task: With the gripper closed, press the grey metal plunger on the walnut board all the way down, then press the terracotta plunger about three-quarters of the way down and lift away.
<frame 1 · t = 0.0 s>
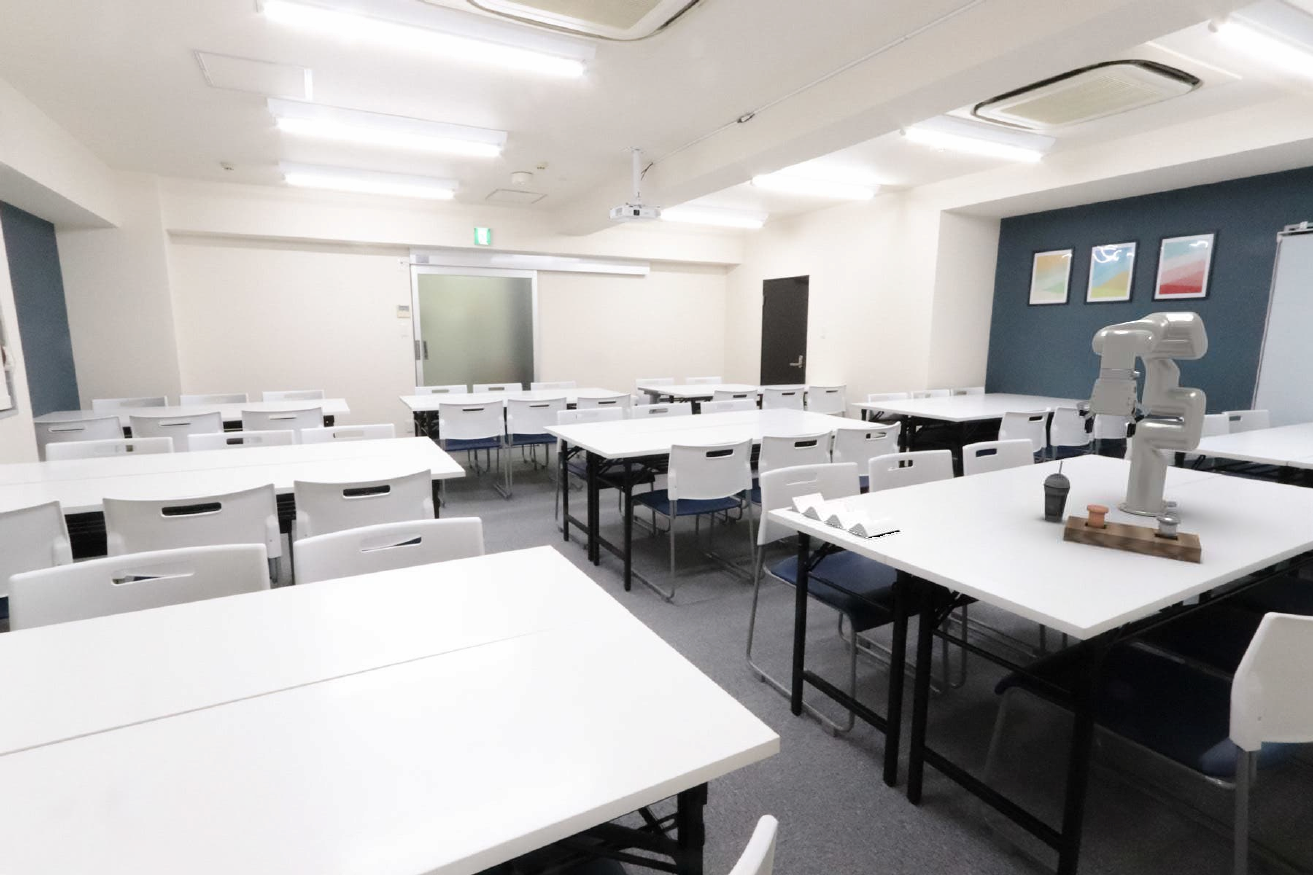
hand: (1108, 435, 172), 31 cm above the table, tool pointing down, fingers open, 9 cm apart
button board: (1128, 544, 173), on the table
terracotta plunger: (1096, 518, 177), point 6 cm above the table, slide at 0.0 cm
grey plunger: (1167, 528, 167), point 6 cm above the table, slide at 0.0 cm
beverage cup: (1053, 521, 195), on the table
file organizer: (843, 523, 196), on the table
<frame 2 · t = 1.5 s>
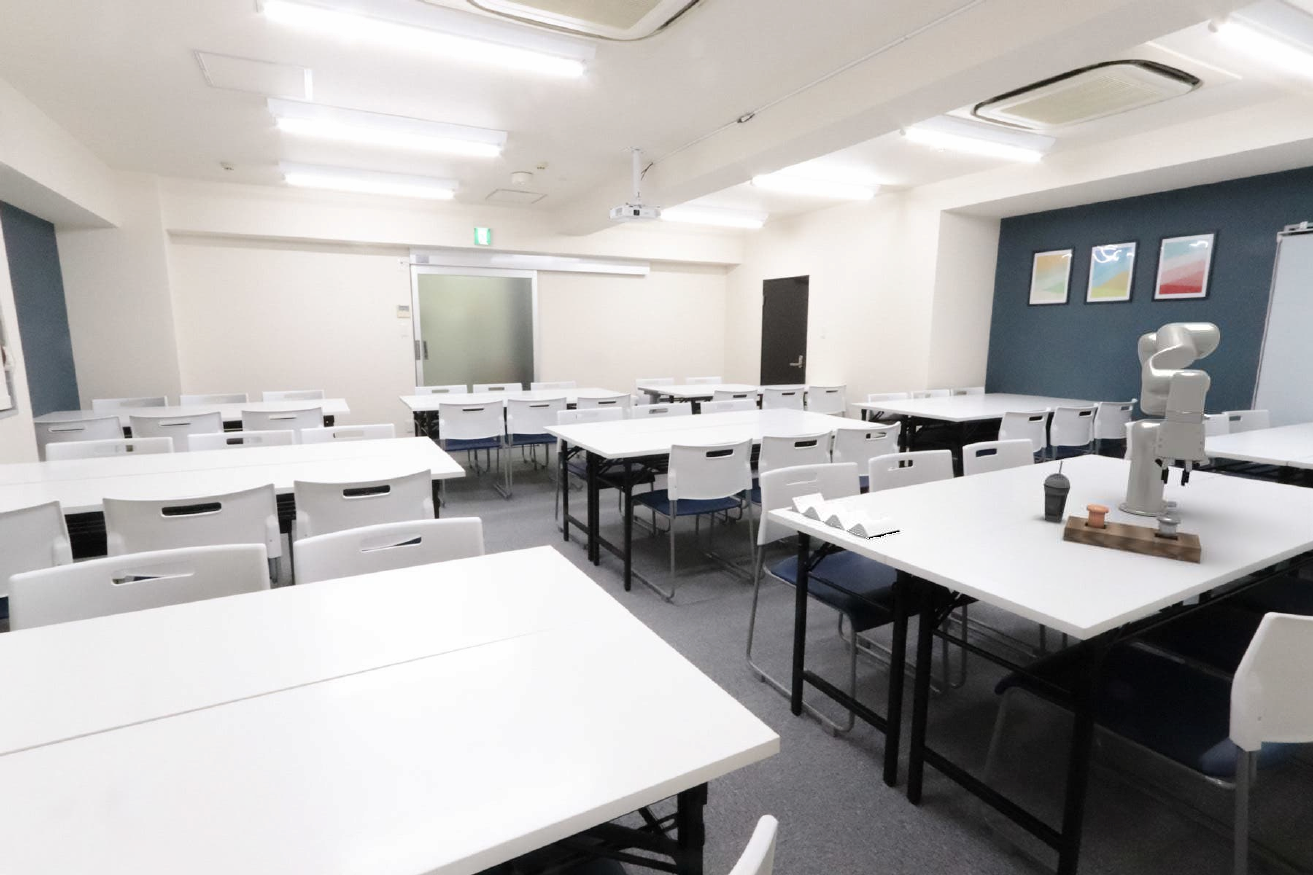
hand: (1173, 483, 165), 19 cm above the table, tool pointing down, fingers open, 3 cm apart
nothing on the table moved.
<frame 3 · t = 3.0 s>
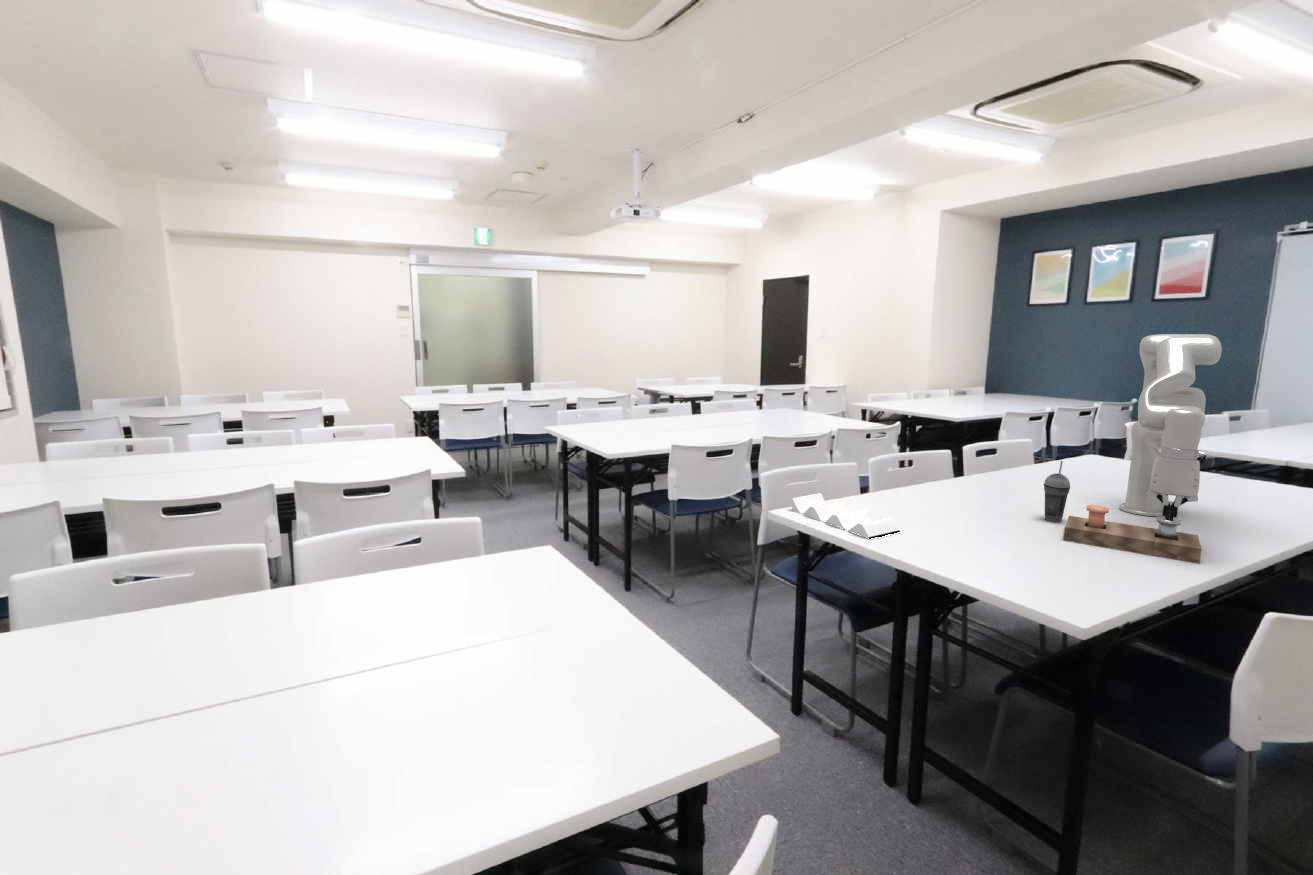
hand: (1168, 519, 166), 9 cm above the table, tool pointing down, fingers closed
grey plunger: (1167, 530, 167), point 6 cm above the table, slide at 0.4 cm, touching gripper
everything else where it was.
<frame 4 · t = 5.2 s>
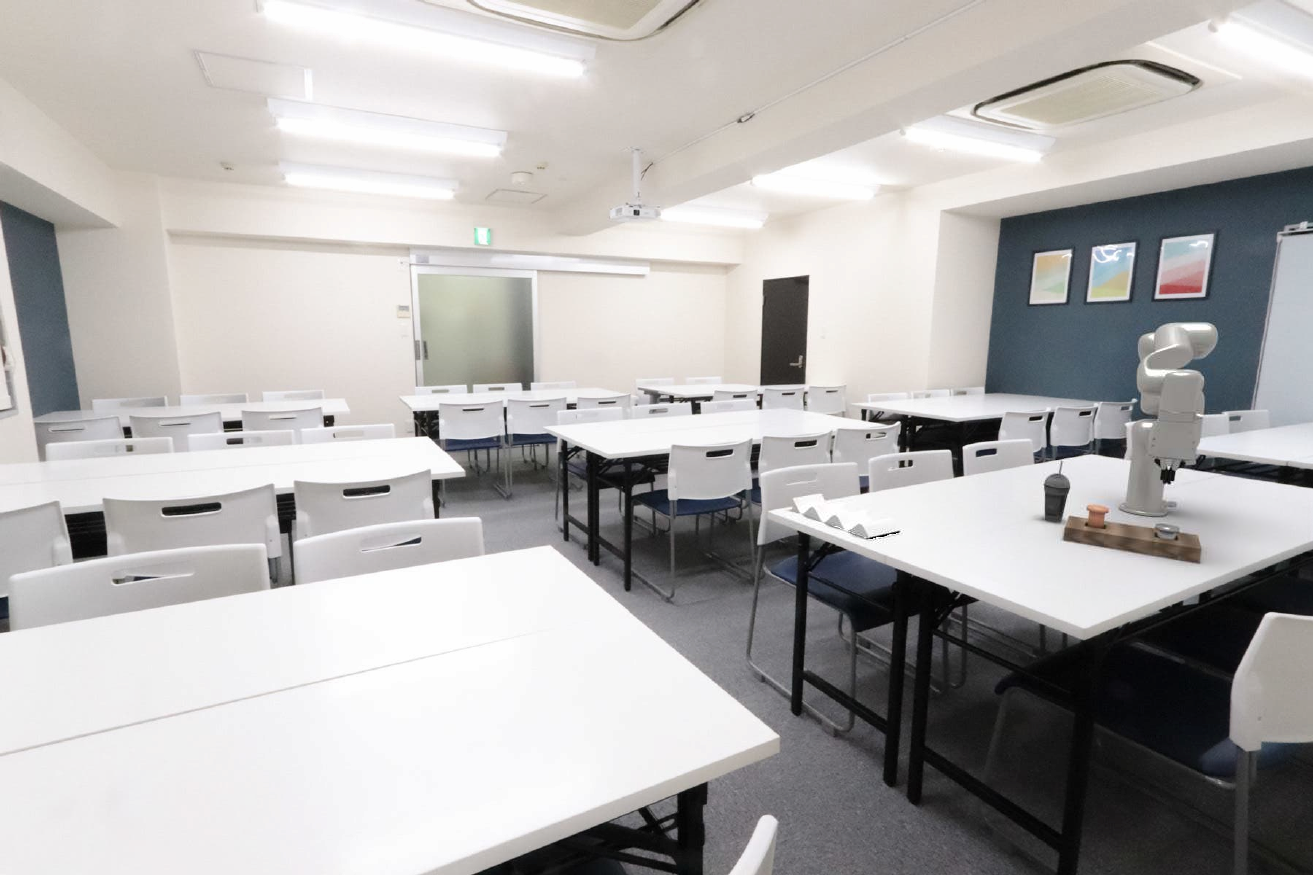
hand: (1166, 483, 166), 19 cm above the table, tool pointing down, fingers closed
grey plunger: (1165, 537, 167), point 4 cm above the table, slide at 2.6 cm
everything else where it was.
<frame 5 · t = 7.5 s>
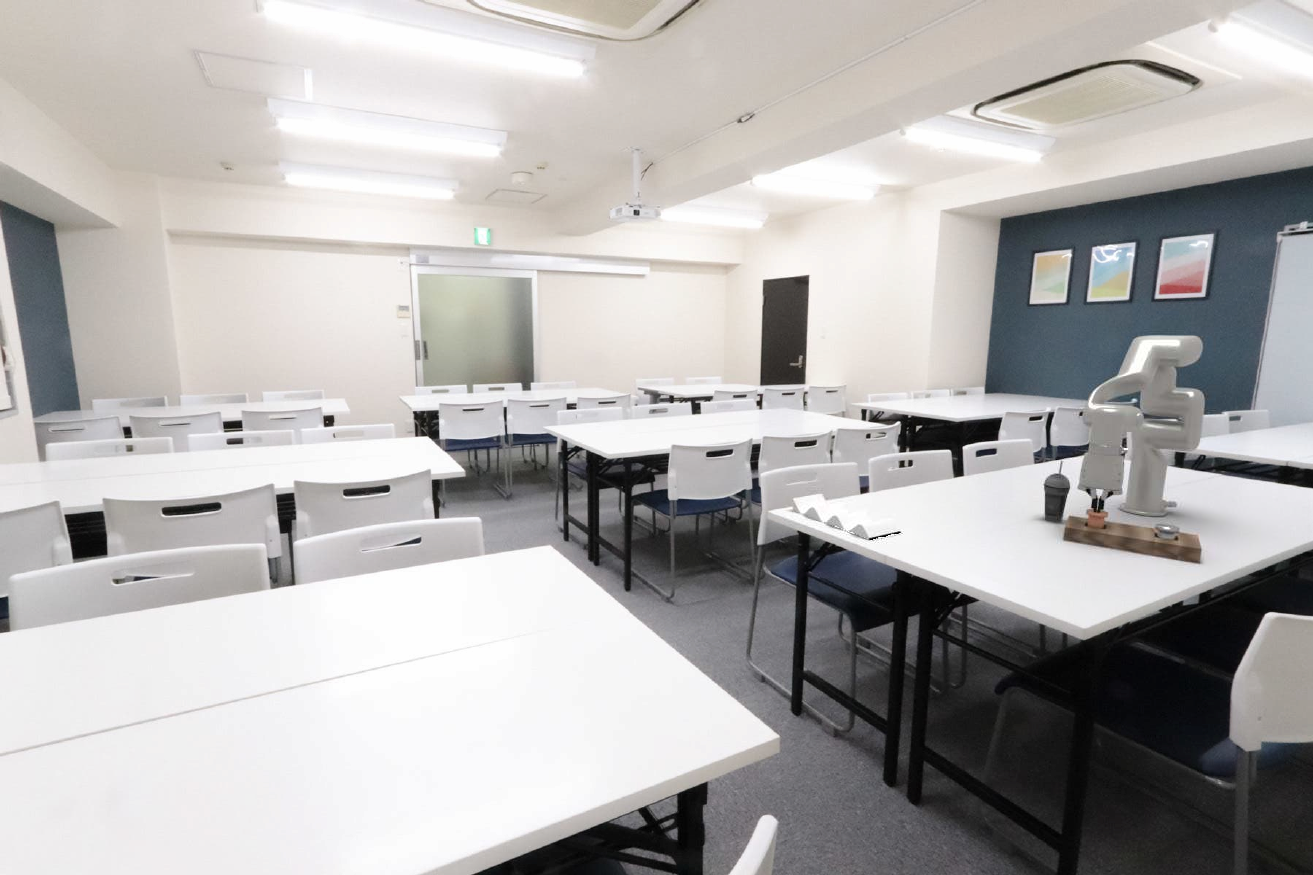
hand: (1096, 511, 176), 8 cm above the table, tool pointing down, fingers closed
terracotta plunger: (1095, 522, 177), point 5 cm above the table, slide at 1.2 cm, touching gripper
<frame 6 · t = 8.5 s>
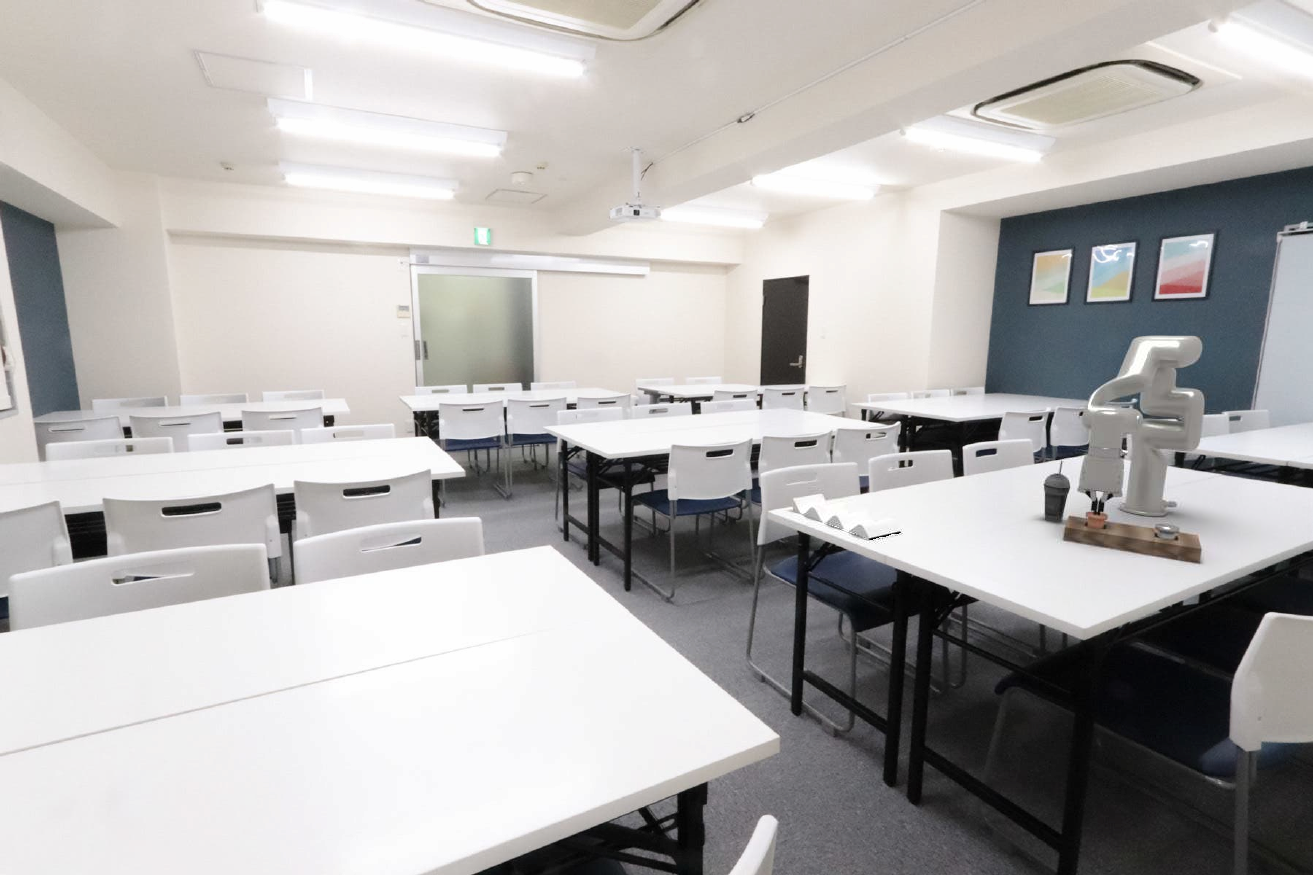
hand: (1096, 513, 177), 8 cm above the table, tool pointing down, fingers closed
terracotta plunger: (1095, 524, 177), point 4 cm above the table, slide at 2.0 cm
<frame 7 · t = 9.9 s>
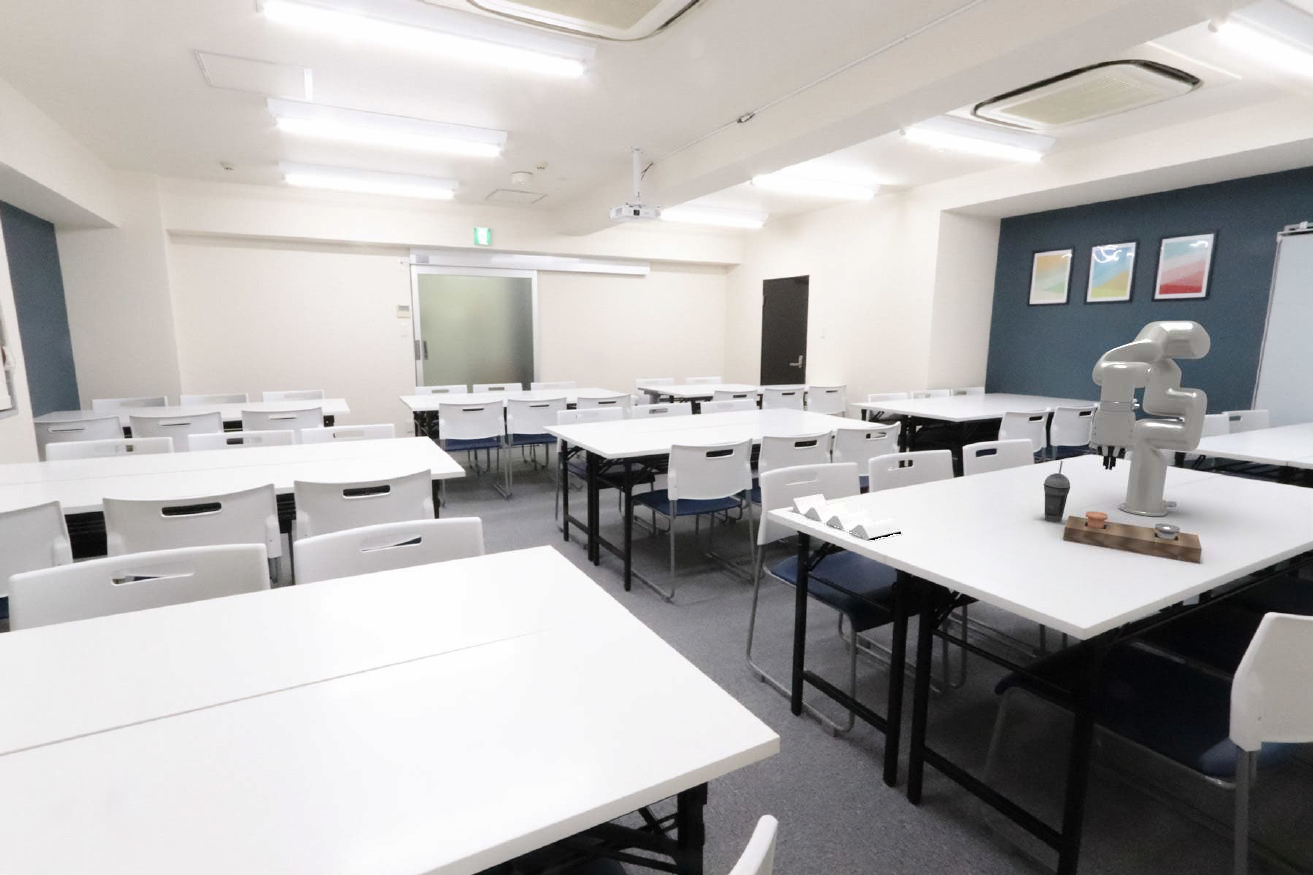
hand: (1108, 468, 177), 21 cm above the table, tool pointing down, fingers closed
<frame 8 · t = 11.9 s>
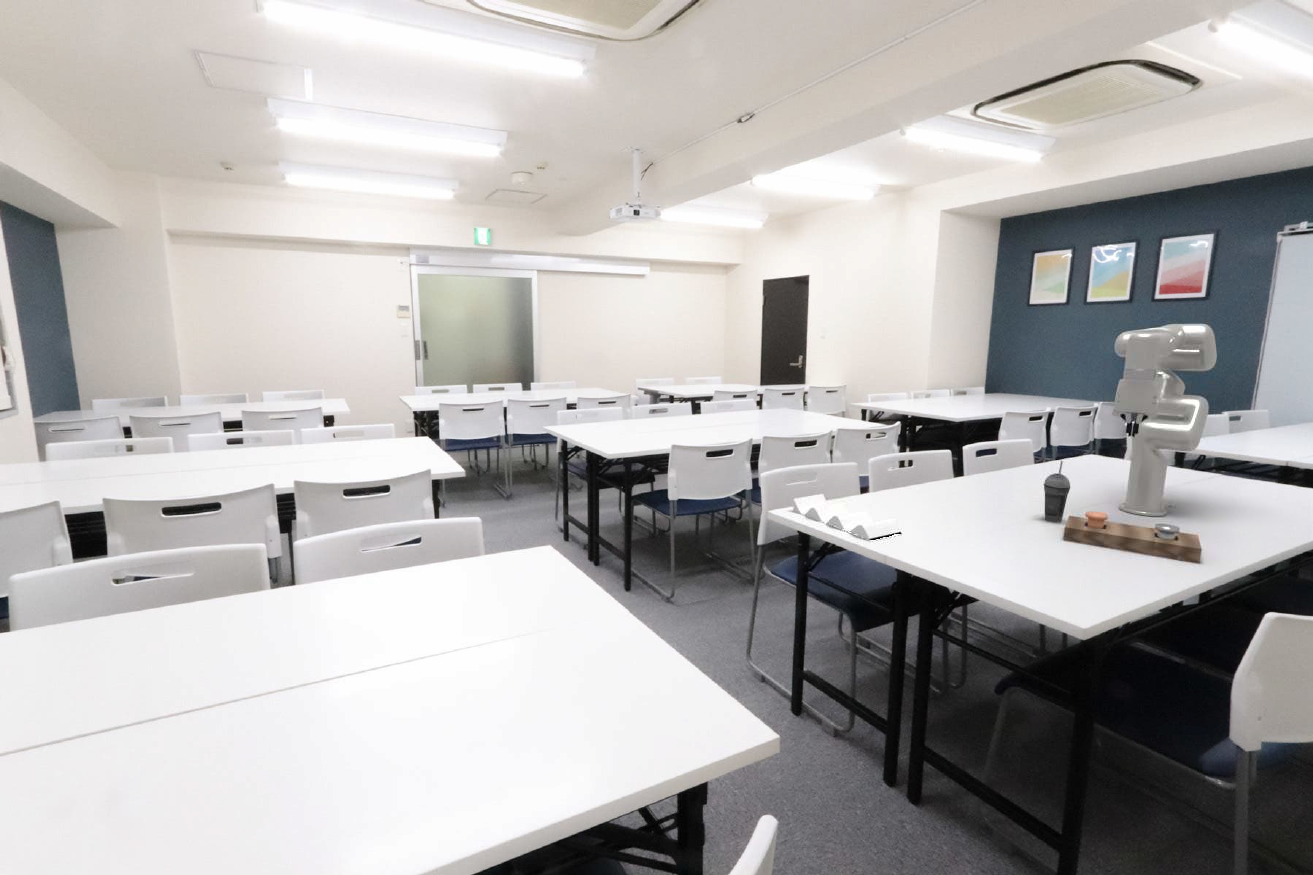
hand: (1131, 435, 182), 29 cm above the table, tool pointing down, fingers closed
at the end: grey plunger slide at 2.6 cm; terracotta plunger slide at 2.0 cm; beverage cup moved 0.2 cm from its start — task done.
